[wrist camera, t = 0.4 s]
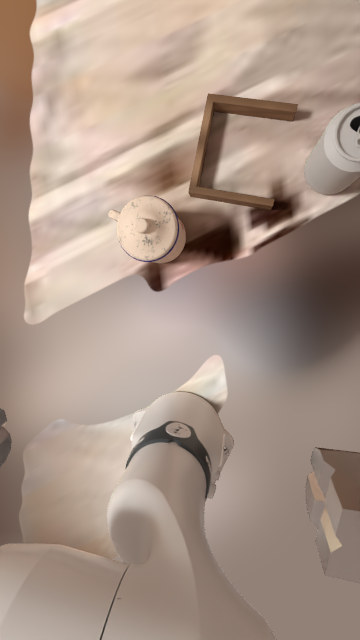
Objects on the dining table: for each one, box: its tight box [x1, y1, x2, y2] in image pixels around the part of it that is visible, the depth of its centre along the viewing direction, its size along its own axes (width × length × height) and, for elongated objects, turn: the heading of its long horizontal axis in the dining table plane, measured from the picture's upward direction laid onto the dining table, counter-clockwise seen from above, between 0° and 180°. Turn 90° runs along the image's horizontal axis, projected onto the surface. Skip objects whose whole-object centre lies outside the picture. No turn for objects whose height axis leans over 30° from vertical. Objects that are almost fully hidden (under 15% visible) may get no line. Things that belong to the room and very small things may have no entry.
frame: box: [189, 94, 298, 210], centre depth 45 cm, size 14×13×2 cm
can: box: [304, 103, 360, 195], centre depth 38 cm, size 8×8×12 cm
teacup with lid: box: [109, 196, 186, 263], centre depth 44 cm, size 12×9×12 cm
